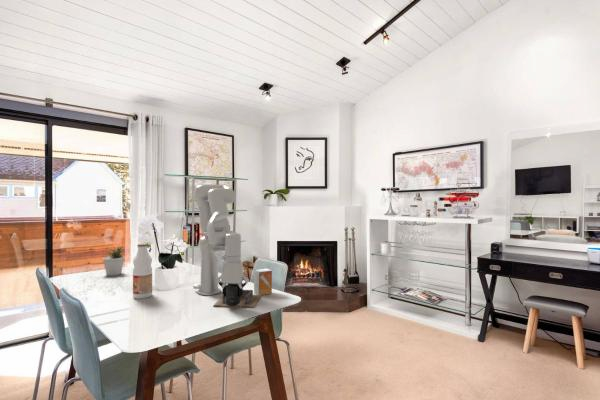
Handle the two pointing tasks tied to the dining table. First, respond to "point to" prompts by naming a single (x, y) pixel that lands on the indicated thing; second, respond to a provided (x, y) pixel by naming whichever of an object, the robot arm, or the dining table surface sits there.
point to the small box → (263, 281)
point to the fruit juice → (142, 273)
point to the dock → (241, 300)
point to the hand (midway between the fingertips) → (232, 295)
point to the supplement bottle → (232, 294)
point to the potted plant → (114, 262)
